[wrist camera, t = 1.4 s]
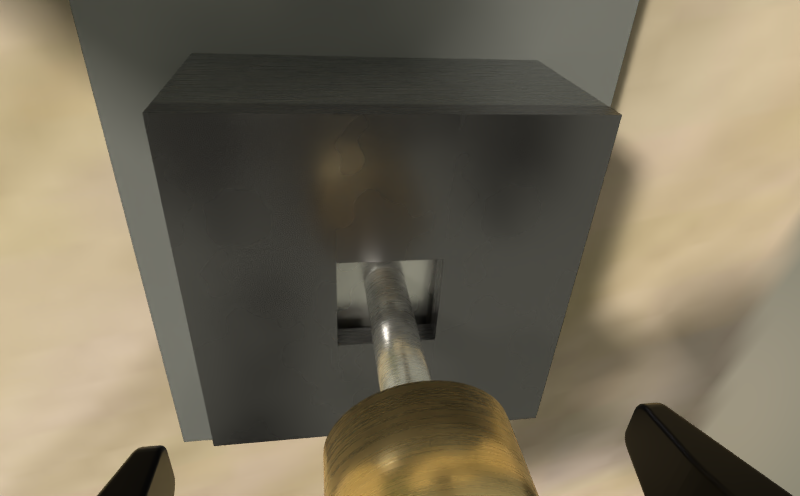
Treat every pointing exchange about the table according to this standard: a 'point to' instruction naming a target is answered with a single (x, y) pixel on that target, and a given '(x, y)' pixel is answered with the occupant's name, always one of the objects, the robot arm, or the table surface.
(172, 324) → the slate board
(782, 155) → the table surface
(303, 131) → the grey knob block
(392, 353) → the golden knob
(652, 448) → the robot arm
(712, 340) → the table surface
